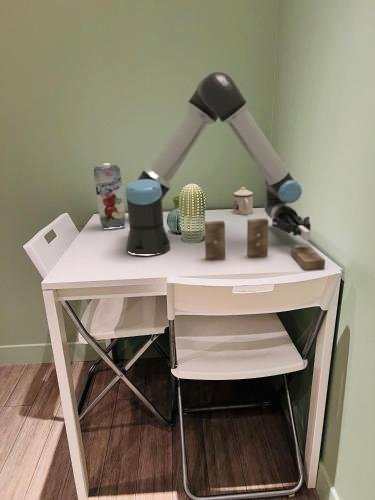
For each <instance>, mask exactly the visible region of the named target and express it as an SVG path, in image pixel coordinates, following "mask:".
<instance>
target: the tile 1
mask: <svg viewBox="0 0 375 500" xmlns="http://www.w3.org/2000/svg"><path fill="white" fill-rule="evenodd" d="M204 249H205V260H210V261H225V260H226V222H225V221H224V220H217V221H214V220H213V221H204Z"/></svg>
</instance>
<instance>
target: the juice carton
mask: <svg viewBox="0 0 375 500" xmlns="http://www.w3.org/2000/svg"><path fill="white" fill-rule="evenodd" d="M93 176H94V177H93V178H94V185H95V194H96V199H97V209H98V215H99V221H100V224H101V227H102V229H103V228H109V227H120V226H124V227H125V224H126V212H125V202H124V193H123V183H122V176H121V170H120V167H119V166H118V165H117V164H112V165H111V163H108V162H105V163H103V164H102V165H100V166H99V165H97V166H95V167H94V169H93Z"/></svg>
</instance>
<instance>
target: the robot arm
mask: <svg viewBox="0 0 375 500" xmlns="http://www.w3.org/2000/svg"><path fill="white" fill-rule="evenodd" d="M186 104H187V110H186V113H185V114H184V116H183V117H182V119H181V120H180V121H179V124H178V125H177V126H176V127H175V129H174V131H173V133H171V136H170V137H169V139H168V140H167V141H166V143H165V144H164V146H163V147H162V149H161V150H160V152H159V154H158V155H157V157H156V158H155V160H154V162H153V163H152V164H151V166H150V167H148V168H147V167H146V168H144V169H143V170H142V172H141V173H140V175H139V177H138V178H137V179H136V180H133V181H130V182H129V183H127V185H126V187H125V197H126V205H127V213H128V214H127V215H128V224H129V231H128V237H127V240H126V251H127V250H128V251H129V252H131V253H135V254H157V253H162V252H165V251H167V250H168V249H169V248H170V249H171V241H170V239H169V236H168V234H167V232H166V229H165V225H164V212H163V200H164V198H165V197H166V195H167V194H168V192H169V191H170V190H171V188H172V185H171V181H172V179H173V178H174V176H175V175H176V173H177V171H179V169H180V167H181V166H182V164H183V163H184V161H185V160H186V159H187V156H188V155H189V154H190V152H191V151H192V150H193V148H194V146H195V145H196V143H197V142H198V141H199V140H200V138H201V136H202V135H203V133H204V132H205V131H206V129H207V127H208V126H209V125H213V124H215V123H217V120H218V119H219V120H220V122H221V123H224V124H226V125H227V126H228V127H229V129H230V130H231V132H232V133H233V134H234V137H236V140H238V141H239V143H240V145H241V146H242V147H243V150H245V152H246V154H247V155H248V156H249V157H250V159H251V161H252V162H253V163H254V165H255V166H256V168H257V169H258V170H259V172H260V173H261V175H262V176H263V177H264V181H265V194H266V195H265V196H266V197H265V198H266V201H265V203H264V212H265V214H266V215H267V216H268V217H269V218H271V221H272V222H271V223H272V225H271V226H272V227H275V228H277V229H279V230H280V231H283V232H285V233H286V234H291V233H293V234H292V235H293V237H297V236H299V237H300V238H302V240H303V241H310V239H311V238H310V237H311V222H310V216H306V217H301V216H299V215H298V212H297V211H296V210H295V209H293V207H291V206H290V205H288V204H293V203H296V202H297V201H298V200H299V199H300V198H301V196H302V194H303V193H302V192H303V191H302V190H303V189H302V186H301V185H300V183H299V182H298V181H297V180H294V177H293V176H292V175H291V173H290V172H289V170H288V169H287V168H286V166H285V164H284V163H283V161H282V159H281V158H280V156H279V155H278V153H277V152H276V150H275V149H274V148H273V146H272V144H271V143H270V142H269V140H268V139H267V137H266V136H265V134H264V133H263V130H261V128H260V126H259V125H258V123H257V122H256V120H255V119H254V117H253V116H252V114H251V113H250V111H249V110H248V107H247V106H248V102H247V101H246V99H245V97H244V96H243V94H242V93H241V91H240V88H239V86H237V84H236V82H235V81H234V80H233V78H232V77H231V76H230V75H228V73H225V72H221V71H214V72H211V73H209V74H208V75H207V76H205V77H204V78H202V79H201V80H200V82H199V83H198V84H197V87H196V88H195V91H194V92H193V94H192V95H191V96H190V99H189V100H188V102H187V103H186ZM170 249H169V250H170ZM167 252H168V251H167ZM165 253H166V252H165Z"/></svg>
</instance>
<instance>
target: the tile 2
mask: <svg viewBox="0 0 375 500" xmlns="http://www.w3.org/2000/svg"><path fill="white" fill-rule="evenodd" d="M269 221H270V220H269V219H268V218H253V219H249V218H248V219H247V223H246V225H247V227H246V228H247V230H246V231H247V235H246V237H247V238H246V239H247V241H246V243H247V244H246V245H247V246H246V247H247V249H246V250H247V251H246V253H247V254H246V256H247V258H248V259H255V258H256V259H257V258H268V253H269V252H268V250H269V249H268V248H269V247H268V246H269V223H270V222H269Z"/></svg>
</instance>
